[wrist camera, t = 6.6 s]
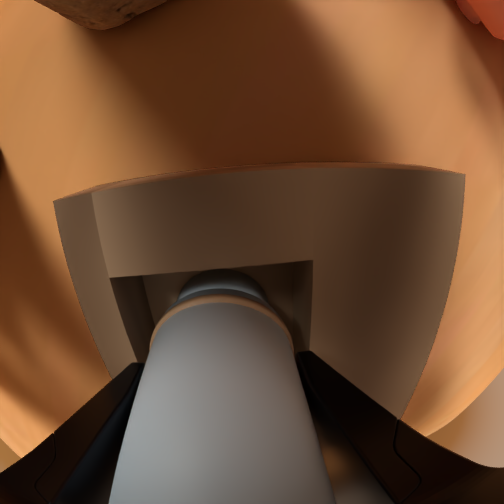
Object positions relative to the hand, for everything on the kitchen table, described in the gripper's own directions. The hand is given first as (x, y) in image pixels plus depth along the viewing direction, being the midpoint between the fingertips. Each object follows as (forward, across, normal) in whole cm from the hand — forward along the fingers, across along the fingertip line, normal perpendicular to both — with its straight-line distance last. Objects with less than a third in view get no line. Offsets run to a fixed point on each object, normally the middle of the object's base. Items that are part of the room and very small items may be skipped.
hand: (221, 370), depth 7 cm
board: (+4, -2, +2) cm, 5 cm away
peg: (+3, 0, 0) cm, 3 cm away
